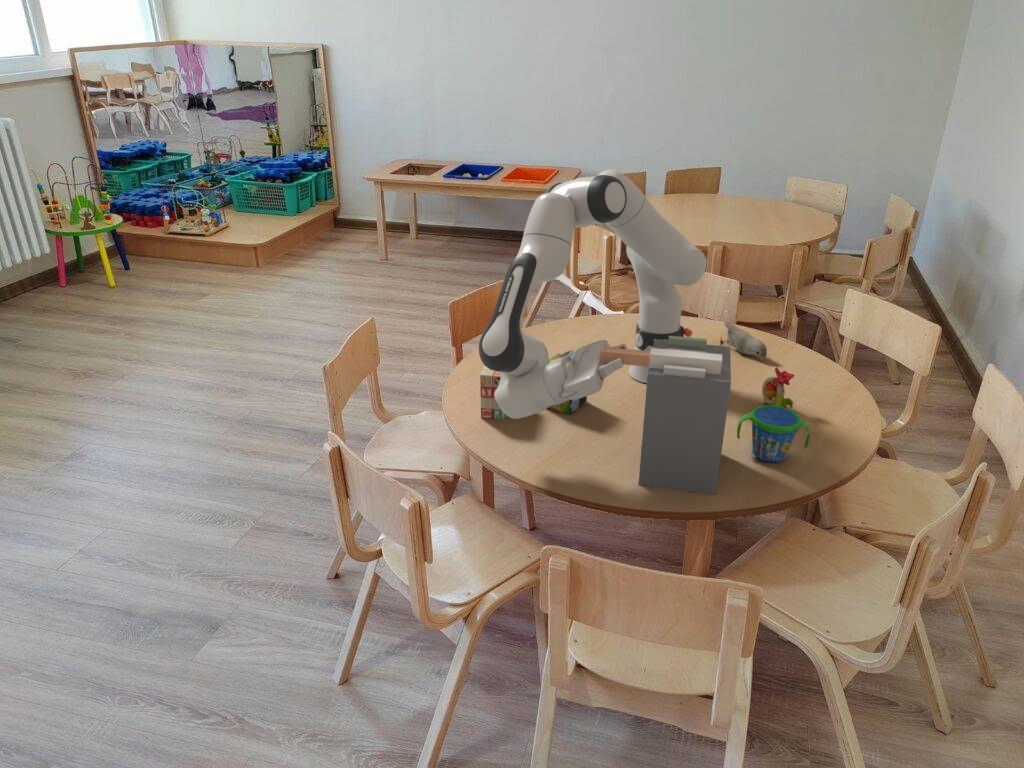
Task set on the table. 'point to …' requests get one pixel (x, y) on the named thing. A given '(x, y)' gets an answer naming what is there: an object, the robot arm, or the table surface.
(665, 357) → the lever bar
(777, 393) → the bird rattle
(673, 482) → the cabinet
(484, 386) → the stack of blocks
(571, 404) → the chalk box
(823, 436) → the table surface
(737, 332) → the decorative bird
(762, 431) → the snack cup
